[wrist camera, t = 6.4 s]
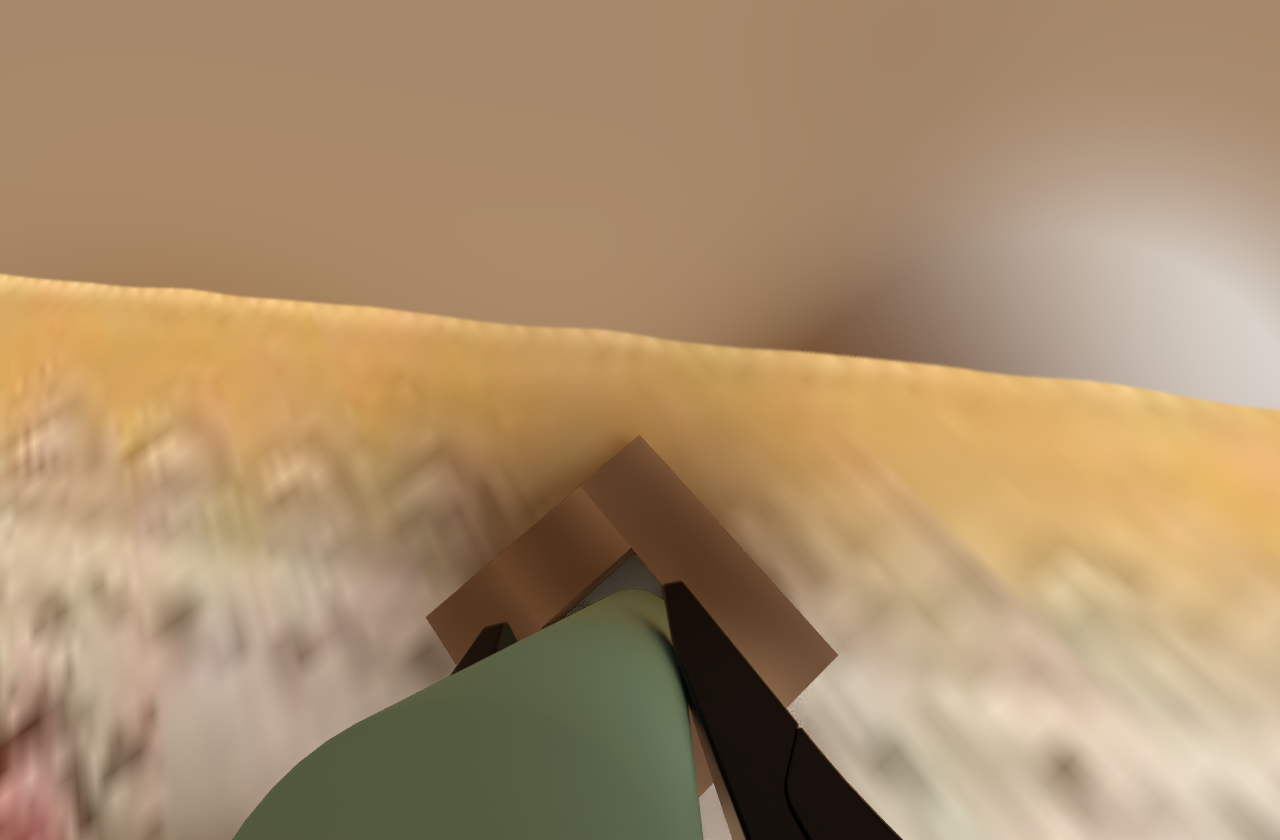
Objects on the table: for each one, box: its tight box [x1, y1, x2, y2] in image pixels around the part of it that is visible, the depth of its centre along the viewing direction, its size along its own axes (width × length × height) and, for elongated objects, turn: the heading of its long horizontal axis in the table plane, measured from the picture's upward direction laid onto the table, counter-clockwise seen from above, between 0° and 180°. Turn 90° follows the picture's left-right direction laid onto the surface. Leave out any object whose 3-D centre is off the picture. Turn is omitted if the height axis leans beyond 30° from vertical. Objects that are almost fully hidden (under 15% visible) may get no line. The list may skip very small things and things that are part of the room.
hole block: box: [426, 435, 838, 797], centre depth 19 cm, size 11×11×4 cm
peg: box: [233, 589, 703, 840], centre depth 9 cm, size 3×3×13 cm
